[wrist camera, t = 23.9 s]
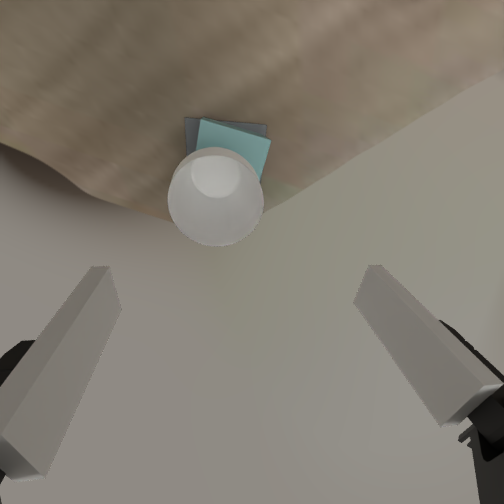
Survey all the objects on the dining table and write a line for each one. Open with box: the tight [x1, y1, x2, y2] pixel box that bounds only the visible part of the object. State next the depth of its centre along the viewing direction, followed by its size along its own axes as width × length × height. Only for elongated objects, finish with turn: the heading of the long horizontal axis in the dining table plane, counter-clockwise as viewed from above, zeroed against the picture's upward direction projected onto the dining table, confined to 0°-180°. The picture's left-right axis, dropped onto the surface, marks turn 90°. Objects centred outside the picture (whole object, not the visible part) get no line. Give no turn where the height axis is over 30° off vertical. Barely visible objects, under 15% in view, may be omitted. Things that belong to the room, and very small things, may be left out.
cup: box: [168, 147, 264, 247], centre depth 27 cm, size 9×9×12 cm
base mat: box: [185, 118, 267, 185], centre depth 38 cm, size 12×12×1 cm
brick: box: [196, 117, 271, 181], centre depth 35 cm, size 9×11×7 cm
